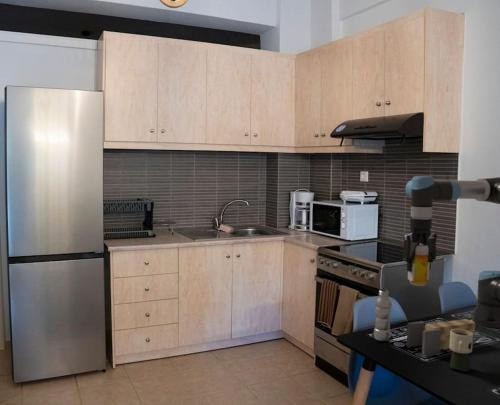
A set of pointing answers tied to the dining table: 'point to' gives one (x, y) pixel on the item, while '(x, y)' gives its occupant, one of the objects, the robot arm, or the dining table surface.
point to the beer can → (421, 265)
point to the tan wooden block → (446, 329)
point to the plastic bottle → (382, 316)
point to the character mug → (460, 348)
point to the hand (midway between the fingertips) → (418, 279)
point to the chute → (423, 338)
